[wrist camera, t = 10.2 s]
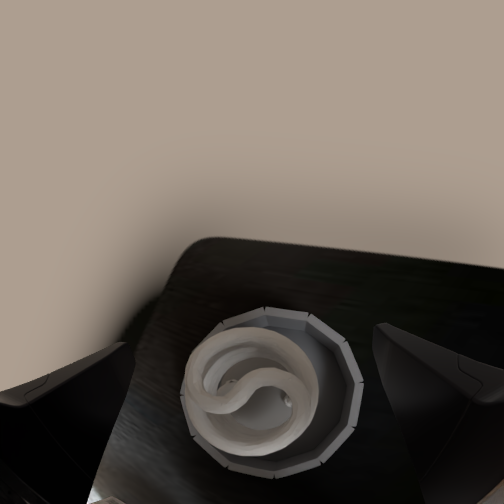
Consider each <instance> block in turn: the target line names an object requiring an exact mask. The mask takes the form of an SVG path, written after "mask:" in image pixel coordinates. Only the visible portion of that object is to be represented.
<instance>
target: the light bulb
mask: <svg viewBox="0 0 504 504" xmlns="http://www.w3.org/2000/svg"><path fill="white" fill-rule="evenodd" d="M226 371H227V372H226ZM225 372H226V373H225ZM224 374H225V375H224ZM223 375H224V377H223V378H222V376H223ZM221 378H222V381H221V386H220V388H219V389H218V390H217V388H218V384H219V382H220V380H221ZM185 385H186V387H185V400H186V407H187V411H188V414H189V418H190V420H191V422H192V423H193V425H194V427H195V428H196V429H197V431H198V432H199V433H200V435H201V436H202V437H203V438H204V439H206V440H207V441H208V442H209V443H210V444H212V445H213V446H215V447H216V448H218V449H221V450H223V451H225V452H227V453H230V454H235V455H240V456H263V455H266V454H269V453H273V452H276V451H278V450H280V449H283V448H284V447H286V446H287V445H289V444H290V443H291V442H293V441H294V440H295V439H296V438H298V437H299V436H300V435H301V434H302V433H303V432H304V431H305V429H306V428H307V427H308V426H309V424H310V422H311V421H312V419H313V416H314V413H315V410H316V407H317V404H318V395H319V389H318V380H317V376H316V373H315V370H314V368H313V365H312V363H311V361H310V360H309V358H308V357H307V355H306V354H305V352H304V351H303V350H302V349H301V348H300V347H299V346H298V345H297V344H295V343H294V342H293V341H291V340H290V339H288V338H287V337H285V336H283V335H281V334H279V333H277V332H275V331H271V330H267V329H264V328H257V327H242V328H233V329H230V330H226V331H223V332H220V333H218V334H216V335H214V336H212V337H210V338H209V339H207V340H206V341H205V342H203V343H202V344H201V345H200V346H198V347H197V348H196V349H195V351H194V352H193V353H192V354H191V356H190V358H189V360H188V363H187V365H186V369H185Z"/></svg>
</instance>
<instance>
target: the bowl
mask: <svg viewBox="0 0 504 504" xmlns="http://www.w3.org/2000/svg"><path fill="white" fill-rule="evenodd" d="M223 323H224V325H223V324H222V323H221V322H220V323H219V324H218V325H217V326H216V327H215V328H214V329H213V330H212V331H211V332H210V333H209V334H208V335H207V336H206V338H205V339H204V340H203V341H202V342H201V343H200V344H199V345H198V346H200V345H201V344H202V343H203V342H205V341H206V340H207V339H209V338H210V337H212V336H214V335H216V334H218V333H220V332H223V331H226V330H230V329H233V328H242V327H257V328H264V329H267V330H271V331H275V332H277V333H279V334H281V335H283V336H285V337H287V338H288V339H290V340H291V341H293V342H294V343H295V344H297V345H298V346H299V347H300V348H301V349H302V350H303V351H304V352H305V354H306V355H307V357H308V358H309V360H310V361H311V363H312V365H313V368H314V370H315V373H316V376H317V380H318V389H319V395H318V404H317V407H316V410H315V413H314V416H313V419H312V421H311V422H310V424H309V426H308V427H307V428H306V429H305V431H304V432H303V433H302V434H301V435H300V436H299V437H298V438H296V439H295V440H294V441H293V442H291V443H290V444H289V445H287V446H286V447H284V448H283V449H280V450H278V451H276V452H273V453H269V454H266V455H263V456H240V455H235V454H230V453H227V452H225V451H223V450H221V449H218V448H216V447H215V446H213V445H212V444H210V443H209V442H208V441H207V440H206V439H204V438H203V437H202V436H201V435H200V433H199V432H198V431H197V429H196V428H195V427H194V425H193V423H192V422H191V420H190V418H189V414H188V411H187V407H186V400H185V387H186V385H185V375H184V379H183V383H182V387H181V391H180V394H182V395H184V396H180V399H181V403H182V406H183V410H184V413H185V417H186V420H187V424H188V427H189V430H190V433H191V436H194V435H196V436H195V437H194V438H193V439H194V440H195V441H196V442H197V443H198V444H199V445H200V446H201V447H202V448H203V449H204V450H205V451H206V452H208V453H209V454H210V455H211V456H212V457H213V458H214V459H215V460H216V461H218V462H219V463H220V464H221V465H222V466H223V467H227V466H228V465H229V466H228V470H232V471H236V472H240V473H245V474H249V475H254V476H259V477H264V478H269V479H273V476H274V475H275V478H276V479H278V478H281V477H285V476H289V475H292V474H295V473H299V472H302V471H305V470H308V469H311V468H314V467H317V466H319V465H321V464H320V461H321V462H323V463H324V462H325V461H326V460H327V459H328V458H329V457H330V456H331V455H332V454H333V453H334V452H335V451H336V450H337V449H338V448H339V447H340V446H341V444H342V443H343V442H344V441H345V440H346V439H347V438H348V436H349V435H350V434H351V433H352V432H353V431H354V429H353V428H352V427H351V426H356V424H357V419H358V414H359V409H360V403H361V398H362V392H363V385H364V383H359V382H361V381H363V378H362V376H361V373H360V371H359V368H358V366H357V363H356V361H355V359H354V356H353V354H352V351H351V349H350V347H349V344H348V342H344V343H343V341H344V340H345V338H343V337H342V336H341V335H339V334H338V333H337V332H335V331H334V330H332V329H331V328H330V327H328V326H327V325H326V324H324V323H323V322H322V321H320V320H319V319H318V318H316V317H315V316H313V315H312V314H310V316H309V317H308V312H300V311H293V310H285V309H279V308H272V307H266V308H265V311H264V309H263V307H261V308H258V309H255V310H253V311H250V312H247V313H244V314H241V315H238V316H235V317H232V318H229V319H226V320H223ZM198 346H197V347H198ZM197 347H196V348H197ZM196 348H195V349H196ZM195 349H194V350H193V351H192V353H193V352H194V351H195ZM190 356H191V354H190ZM189 358H190V357H189ZM226 372H227V371H226ZM226 372H225V373H226ZM224 375H225V374H224ZM224 375H223V376H222V378H223V377H224ZM222 378H221V380H220V382H219V384H218V388H217V390H218V389H219V388H220V386H221V381H222ZM319 460H320V461H319Z"/></svg>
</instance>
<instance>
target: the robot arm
mask: <svg viewBox="0 0 504 504" xmlns="http://www.w3.org/2000/svg"><path fill="white" fill-rule="evenodd" d="M372 349H373V353H374V357H375V360H376V363H377V367H378V370H379V374H380V377H381V381H382V384H383V387H384V389H385V392H386V394H387V397H388V399H389V401H390V404H391V406H392V409H393V411H394V414H395V416H396V419H397V422H398V424H399V427H400V429H401V432H402V435H403V437H404V440H405V443H406V445H407V448H408V451H409V454H410V457H411V460H412V462H413V465H414V468H415V471H416V474H417V477H418V481H419V483H420V487H421V491H422V494H423V497H424V501H425V504H504V370H502V369H499V368H496V367H492V366H489V365H486V364H483V363H480V362H477V361H475V360H472V359H469V358H467V357H464V356H462V355H460V354H457V353H455V352H452V351H450V350H448V349H445V348H443V347H441V346H438V345H436V344H433V343H431V342H429V341H426V340H424V339H422V338H419V337H417V336H415V335H412V334H410V333H408V332H405V331H403V330H401V329H398V328H396V327H394V326H391V325H389V324H387V323H383V324H378V325H375V327H374V332H373V343H372ZM135 364H136V362H135V358H134V356H133V353H132V351H131V348H130V345H129V344H128V343H126V342H118V343H115V344H113V345H111V346H109V347H107V348H104V349H102V350H100V351H98V352H96V353H94V354H91V355H89V356H87V357H85V358H83V359H80V360H78V361H76V362H74V363H72V364H69V365H67V366H65V367H63V368H60V369H58V370H56V371H54V372H51V373H50V374H47V375H45V376H42V377H40V378H37V379H35V380H32V381H30V382H27V383H24V384H22V385H19V386H16V387H13V388H11V389H7V390H4V391H1V392H0V504H87V501H88V498H89V494H90V491H91V488H92V485H93V481H94V479H95V476H96V473H97V470H98V467H99V464H100V462H101V459H102V456H103V453H104V451H105V448H106V445H107V443H108V440H109V437H110V435H111V432H112V430H113V427H114V425H115V422H116V420H117V417H118V415H119V412H120V410H121V407H122V405H123V402H124V400H125V397H126V395H127V391H128V388H129V385H130V381H131V378H132V375H133V372H134V368H135Z"/></svg>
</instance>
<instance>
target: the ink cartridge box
mask: <svg viewBox="0 0 504 504" xmlns="http://www.w3.org/2000/svg"><path fill="white" fill-rule="evenodd" d="M91 504H126V503H124V502H122V501H120V500H118V499H117V498H115V497H113V496H111V497H108V498H105V499H102V500H100V501H97V502H94V503H91Z"/></svg>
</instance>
